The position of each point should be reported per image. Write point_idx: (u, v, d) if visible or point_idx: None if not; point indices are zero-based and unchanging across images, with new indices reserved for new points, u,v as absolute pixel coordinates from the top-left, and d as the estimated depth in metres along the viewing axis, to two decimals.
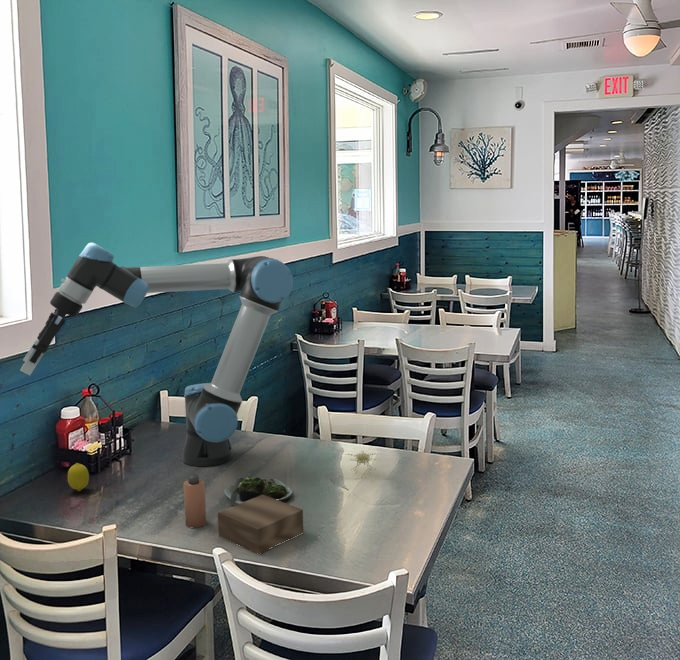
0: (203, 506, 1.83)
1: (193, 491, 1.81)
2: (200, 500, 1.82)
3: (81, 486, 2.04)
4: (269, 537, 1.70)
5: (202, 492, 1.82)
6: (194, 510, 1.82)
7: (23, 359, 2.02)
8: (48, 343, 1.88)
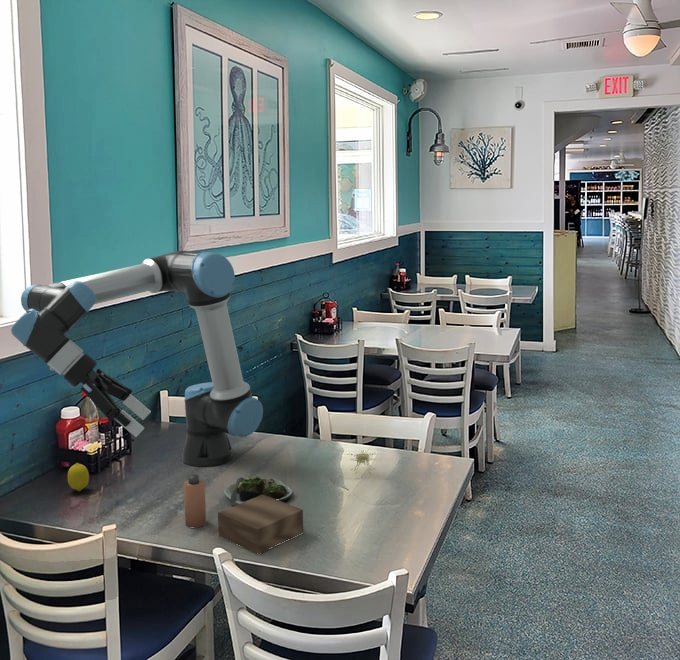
0: (203, 506, 1.83)
1: (193, 491, 1.81)
2: (200, 500, 1.82)
3: (81, 486, 2.04)
4: (269, 537, 1.70)
5: (202, 492, 1.82)
6: (194, 510, 1.82)
7: (142, 419, 1.86)
8: (108, 405, 1.68)
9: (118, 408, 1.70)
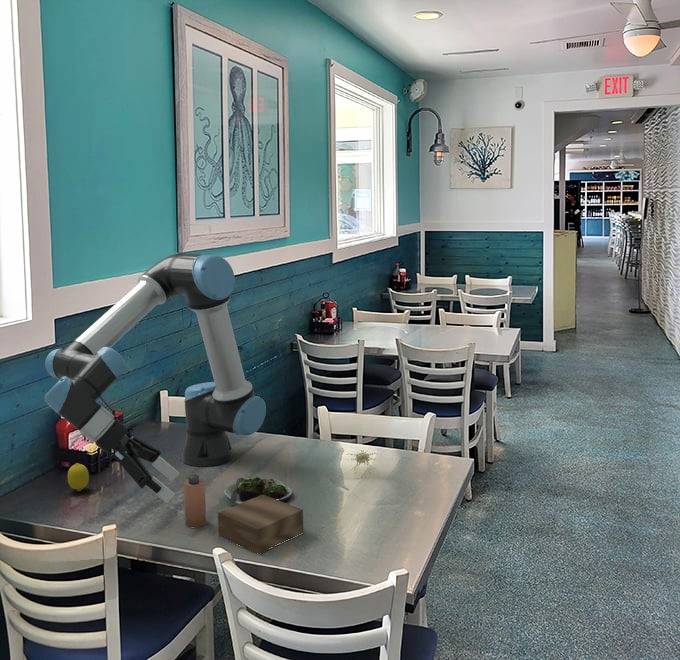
0: (203, 506, 1.83)
1: (193, 491, 1.81)
2: (200, 500, 1.82)
3: (81, 486, 2.04)
4: (269, 537, 1.70)
5: (202, 492, 1.82)
6: (194, 510, 1.82)
7: (170, 480, 1.88)
8: (140, 473, 1.71)
9: (149, 475, 1.73)
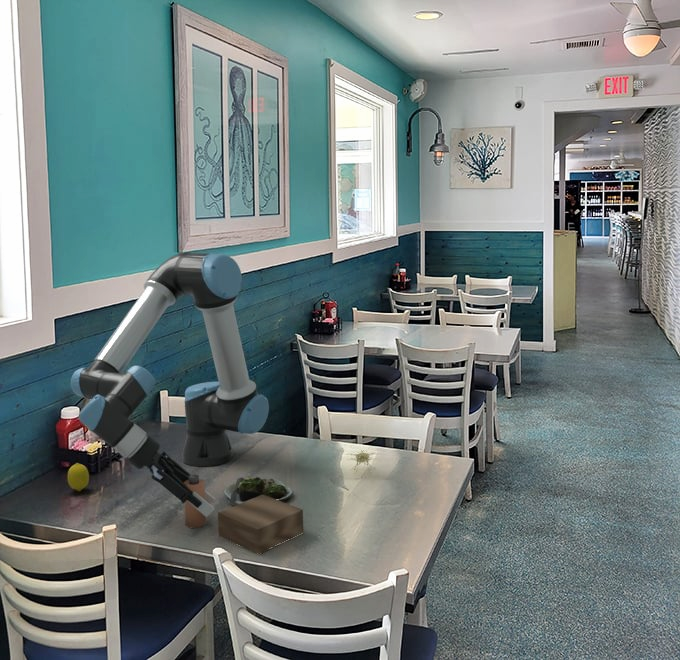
0: None
1: (193, 491, 1.81)
2: None
3: (81, 486, 2.04)
4: (269, 537, 1.70)
5: (202, 492, 1.82)
6: (194, 510, 1.82)
7: None
8: (182, 490, 1.77)
9: (191, 491, 1.79)
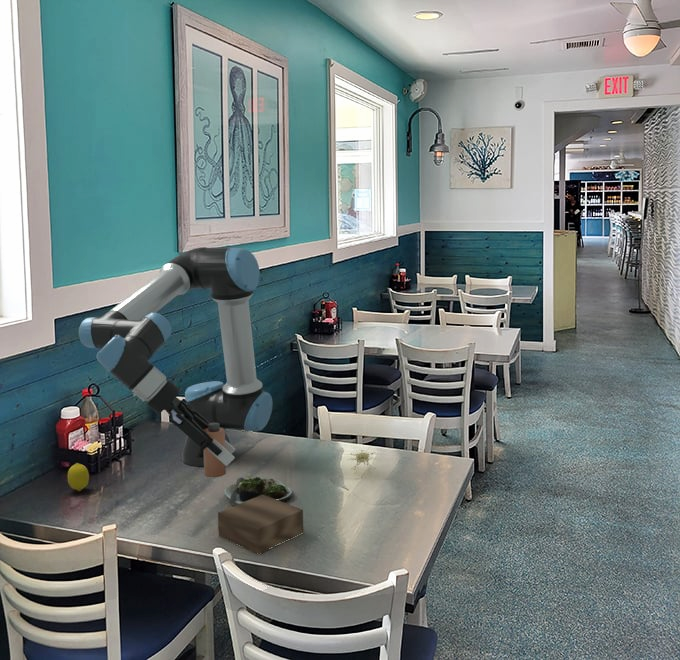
0: None
1: None
2: None
3: (81, 486, 2.04)
4: (269, 537, 1.70)
5: (222, 440, 1.75)
6: (214, 459, 1.75)
7: None
8: (201, 436, 1.70)
9: (211, 438, 1.72)
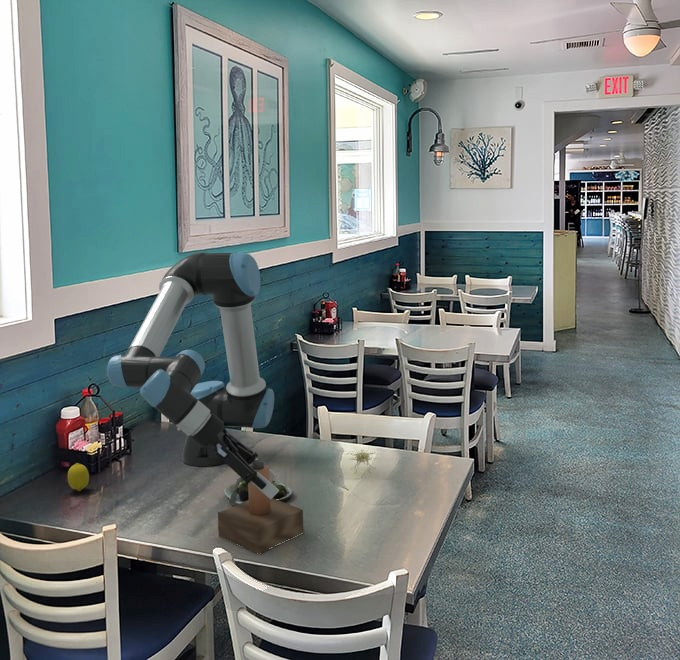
0: None
1: None
2: None
3: (81, 486, 2.04)
4: (269, 537, 1.70)
5: (267, 478, 1.75)
6: (259, 497, 1.74)
7: None
8: (246, 470, 1.67)
9: (255, 471, 1.69)
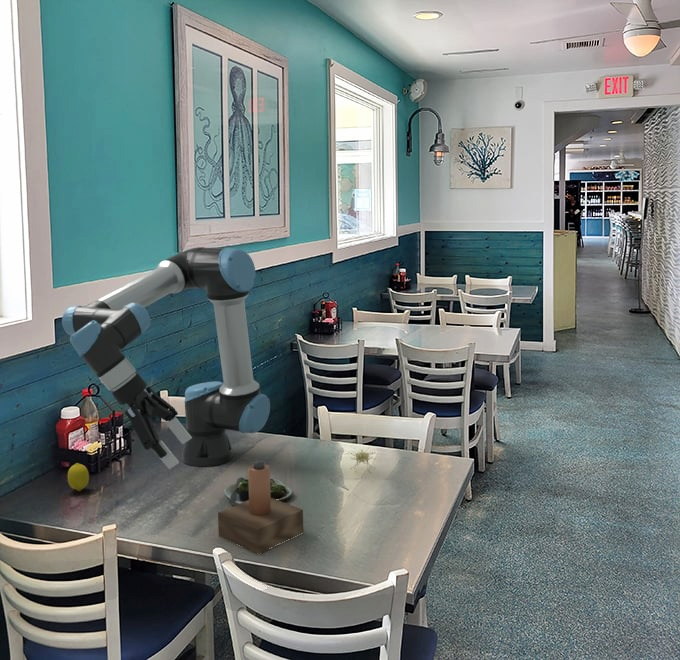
0: (268, 492, 1.75)
1: (259, 477, 1.73)
2: (265, 486, 1.74)
3: (81, 486, 2.04)
4: (269, 537, 1.70)
5: (268, 478, 1.75)
6: (259, 497, 1.74)
7: (182, 443, 1.84)
8: (147, 435, 1.67)
9: (157, 439, 1.68)
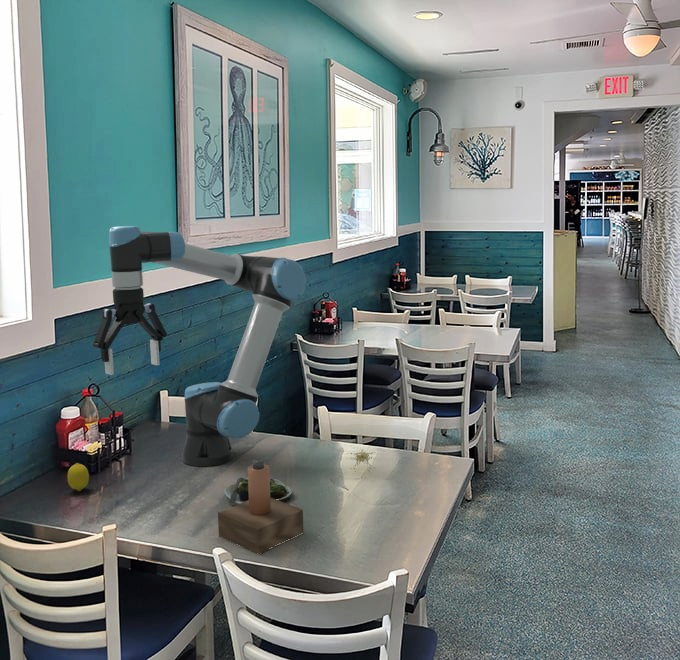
0: (268, 492, 1.75)
1: (258, 476, 1.73)
2: (265, 485, 1.74)
3: (81, 486, 2.04)
4: (269, 537, 1.70)
5: (267, 477, 1.75)
6: (259, 496, 1.74)
7: (151, 363, 2.02)
8: (99, 338, 1.87)
9: (106, 346, 1.88)
